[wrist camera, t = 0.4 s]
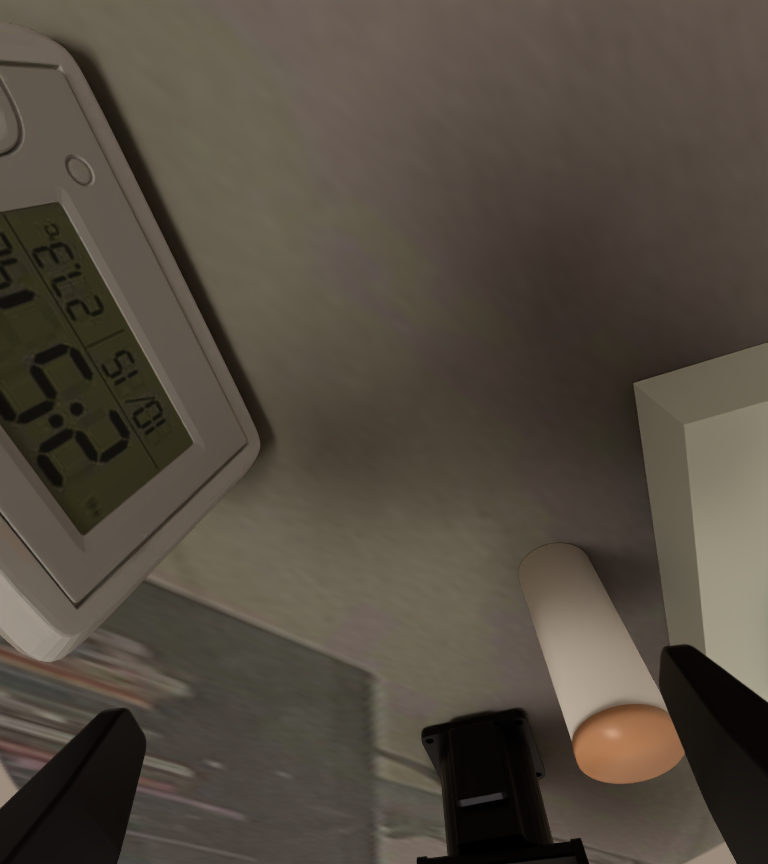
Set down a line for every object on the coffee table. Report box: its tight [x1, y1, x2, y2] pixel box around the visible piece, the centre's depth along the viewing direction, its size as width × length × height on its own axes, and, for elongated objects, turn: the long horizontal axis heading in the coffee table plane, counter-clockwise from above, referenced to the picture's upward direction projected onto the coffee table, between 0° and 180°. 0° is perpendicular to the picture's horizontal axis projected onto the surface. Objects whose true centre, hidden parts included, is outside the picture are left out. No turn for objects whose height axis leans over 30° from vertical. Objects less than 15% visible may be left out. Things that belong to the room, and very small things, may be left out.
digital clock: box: [0, 22, 260, 662], centre depth 15 cm, size 16×9×11 cm, turn 7°
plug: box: [518, 543, 685, 784], centre depth 21 cm, size 4×4×9 cm
